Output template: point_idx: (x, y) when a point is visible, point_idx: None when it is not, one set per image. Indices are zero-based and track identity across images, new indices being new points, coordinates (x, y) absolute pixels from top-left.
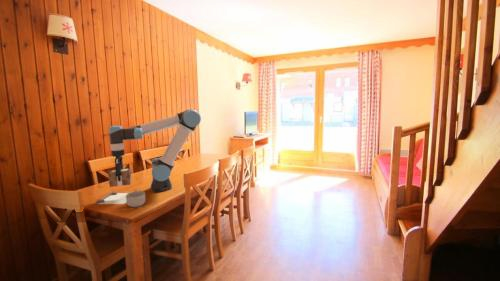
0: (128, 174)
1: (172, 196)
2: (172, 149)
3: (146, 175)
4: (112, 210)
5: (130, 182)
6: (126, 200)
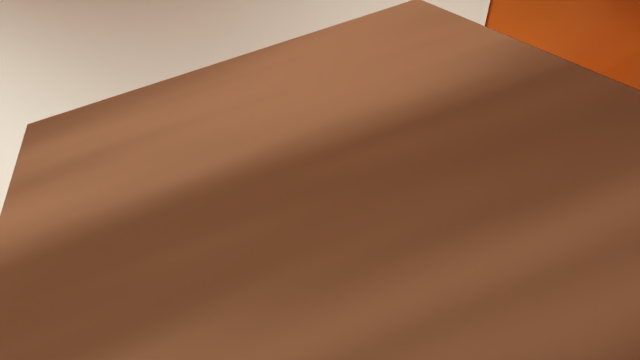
0: None
1: None
2: None
3: None
4: (629, 52)
5: (370, 31)
6: (349, 15)
